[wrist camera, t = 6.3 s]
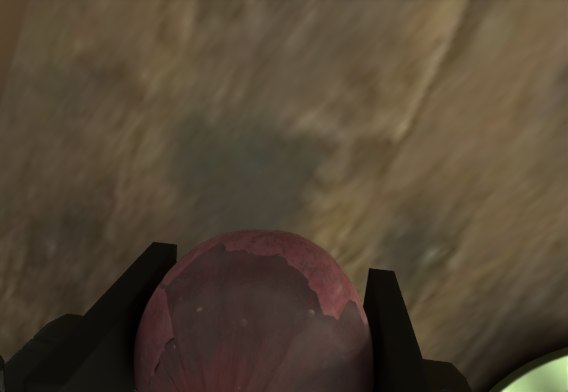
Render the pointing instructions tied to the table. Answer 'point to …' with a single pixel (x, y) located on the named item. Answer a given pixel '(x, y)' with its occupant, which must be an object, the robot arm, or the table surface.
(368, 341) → the vegetable
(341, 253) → the table surface
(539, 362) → the canister lid
